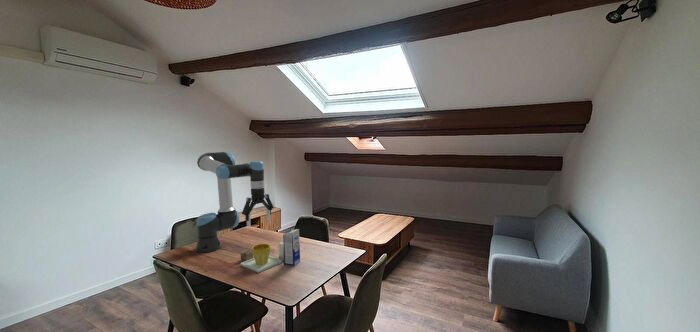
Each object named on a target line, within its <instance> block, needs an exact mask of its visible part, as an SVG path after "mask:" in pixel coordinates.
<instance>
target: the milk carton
mask: <svg viewBox="0 0 700 332" xmlns="http://www.w3.org/2000/svg"><path fill="white" fill-rule="evenodd" d="M282 242H283V247H284V260H283V265H285V266H289V267H290V266H292V267H295V266H296V265H298V264H299V263H300V262H301V252H300V251H301V250H300V246H301V245H300V244H301V243H300V228H298V229H297V228H296V229H287V230H285V233H283V234H282Z"/></svg>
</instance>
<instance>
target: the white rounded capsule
mask: <svg viewBox="0 0 700 332" xmlns="http://www.w3.org/2000/svg"><path fill="white" fill-rule="evenodd" d="M277 248H278V259H281V260H282V261H284V247H283V241H280V242H279V243H278V247H277Z"/></svg>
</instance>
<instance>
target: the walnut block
mask: <svg viewBox="0 0 700 332" xmlns="http://www.w3.org/2000/svg"><path fill="white" fill-rule="evenodd" d="M253 258H254V255H253V254H252V249H251V250H249V249H246V250H245V249H244V250H243V251H242V252H241V251H240V261H241V262H245V261H247V260H250V259H253Z"/></svg>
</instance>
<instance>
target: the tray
mask: <svg viewBox="0 0 700 332" xmlns="http://www.w3.org/2000/svg"><path fill="white" fill-rule="evenodd" d="M282 263H283V260H281V259H279V257H274V256H271V255H269V258H268V262H267V263H266V264H264V265H257V264H256V262H255V258H254V257H253V259H250V260H247V261H241V262H240V266H241V267H242V268H246V269H248V270H250V271H253V272H255V273H258V274H259V273H261V272H264V271H267V270H268V269H271V268H273V267H275V266H277V265H279V264H282Z"/></svg>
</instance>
